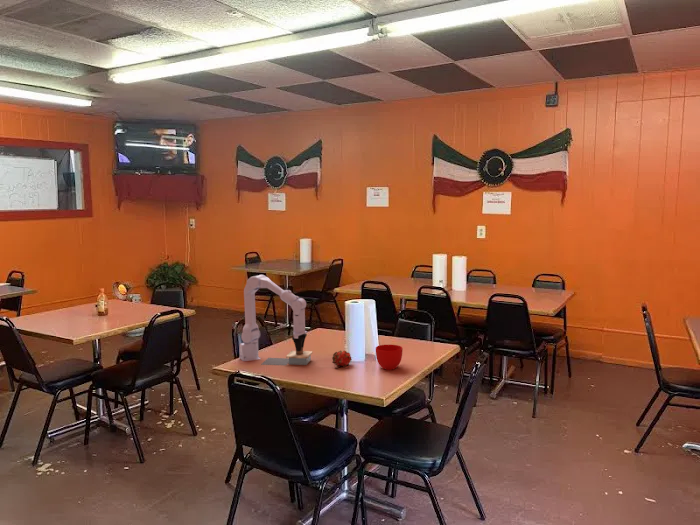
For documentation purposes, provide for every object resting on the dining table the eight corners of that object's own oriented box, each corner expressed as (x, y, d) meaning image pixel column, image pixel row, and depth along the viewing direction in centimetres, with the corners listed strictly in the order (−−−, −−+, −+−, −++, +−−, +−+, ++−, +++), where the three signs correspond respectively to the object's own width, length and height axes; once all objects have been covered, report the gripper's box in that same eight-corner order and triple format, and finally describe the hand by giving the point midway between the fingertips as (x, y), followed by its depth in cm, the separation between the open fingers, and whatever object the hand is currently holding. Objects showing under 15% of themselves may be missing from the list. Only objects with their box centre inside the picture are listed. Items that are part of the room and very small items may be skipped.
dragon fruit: (331, 371, 263) (348, 370, 272) (341, 363, 259) (359, 362, 267) (325, 355, 267) (343, 354, 276) (336, 347, 262) (353, 347, 271)
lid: (285, 357, 269) (285, 350, 268) (291, 352, 279) (291, 345, 279) (307, 358, 267) (307, 350, 267) (312, 352, 278) (312, 345, 277)
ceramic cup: (410, 364, 269) (410, 344, 268) (395, 373, 254) (395, 352, 253) (386, 361, 275) (386, 341, 274) (370, 369, 261) (370, 349, 260)
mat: (260, 365, 270) (260, 364, 270) (268, 358, 283) (268, 357, 283) (286, 366, 268) (285, 365, 268) (292, 359, 281) (292, 358, 281)
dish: (288, 365, 270) (288, 357, 269) (293, 360, 279) (293, 352, 278) (306, 365, 268) (306, 357, 268) (310, 361, 277) (310, 353, 277)
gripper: (303, 325, 264) (304, 353, 265) (310, 320, 278) (310, 346, 279) (289, 325, 265) (290, 353, 266) (296, 319, 279) (297, 346, 281)
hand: (299, 349), depth 273 cm, fingers open, 4 cm apart
